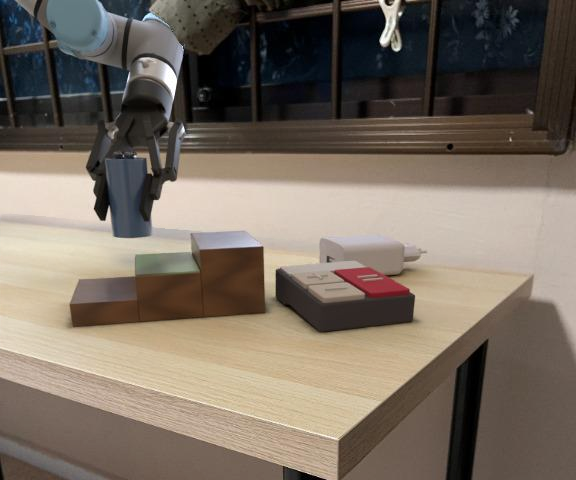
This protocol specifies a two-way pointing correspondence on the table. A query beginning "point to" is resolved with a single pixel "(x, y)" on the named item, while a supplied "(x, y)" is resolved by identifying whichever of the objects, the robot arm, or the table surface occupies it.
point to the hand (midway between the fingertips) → (121, 215)
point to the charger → (369, 252)
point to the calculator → (343, 295)
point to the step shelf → (179, 284)
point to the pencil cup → (126, 194)
